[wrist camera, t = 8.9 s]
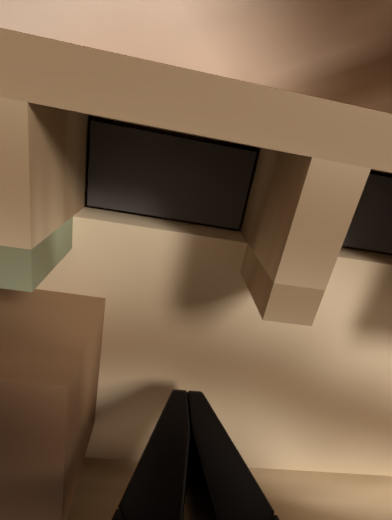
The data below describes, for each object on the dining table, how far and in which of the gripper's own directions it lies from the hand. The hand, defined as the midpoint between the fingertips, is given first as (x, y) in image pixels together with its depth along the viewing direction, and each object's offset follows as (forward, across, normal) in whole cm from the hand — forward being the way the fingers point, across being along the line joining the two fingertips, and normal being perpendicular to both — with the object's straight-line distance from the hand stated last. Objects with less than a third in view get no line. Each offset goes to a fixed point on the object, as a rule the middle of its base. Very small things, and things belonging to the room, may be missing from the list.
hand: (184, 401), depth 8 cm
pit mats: (+2, -1, -6) cm, 6 cm away
